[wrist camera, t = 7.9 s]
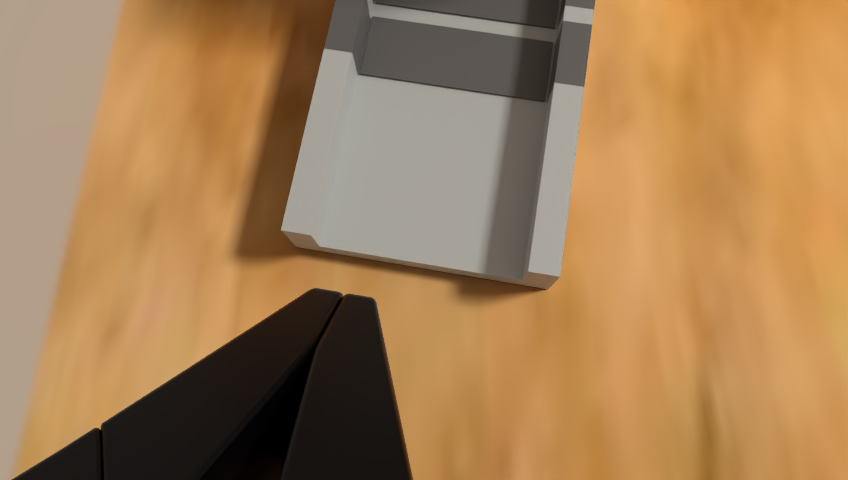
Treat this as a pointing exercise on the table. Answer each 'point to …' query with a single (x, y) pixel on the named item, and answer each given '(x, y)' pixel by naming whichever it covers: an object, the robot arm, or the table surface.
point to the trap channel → (445, 136)
